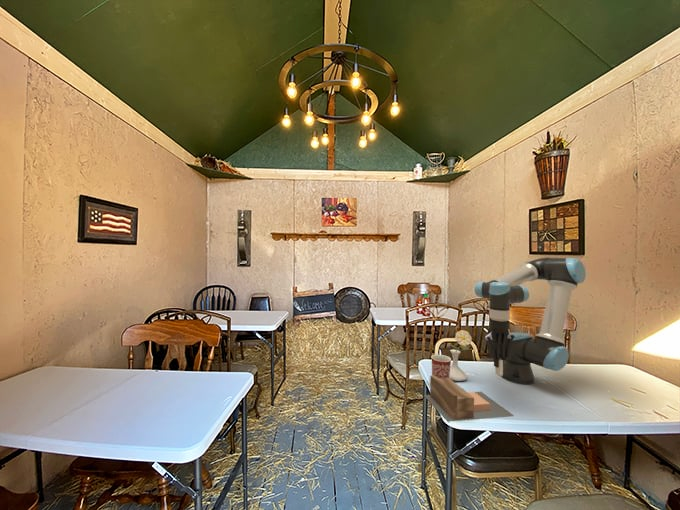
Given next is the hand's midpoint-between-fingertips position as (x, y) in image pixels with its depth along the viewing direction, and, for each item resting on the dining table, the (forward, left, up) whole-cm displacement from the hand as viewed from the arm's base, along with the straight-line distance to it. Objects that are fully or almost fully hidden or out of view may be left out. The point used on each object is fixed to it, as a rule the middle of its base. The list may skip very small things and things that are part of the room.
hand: (498, 374), depth 122 cm
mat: (+15, 0, -12) cm, 19 cm away
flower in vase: (+4, -25, -13) cm, 28 cm away
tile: (+15, 0, -12) cm, 19 cm away
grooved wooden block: (+22, 0, -12) cm, 25 cm away
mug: (+16, -20, -13) cm, 28 cm away
